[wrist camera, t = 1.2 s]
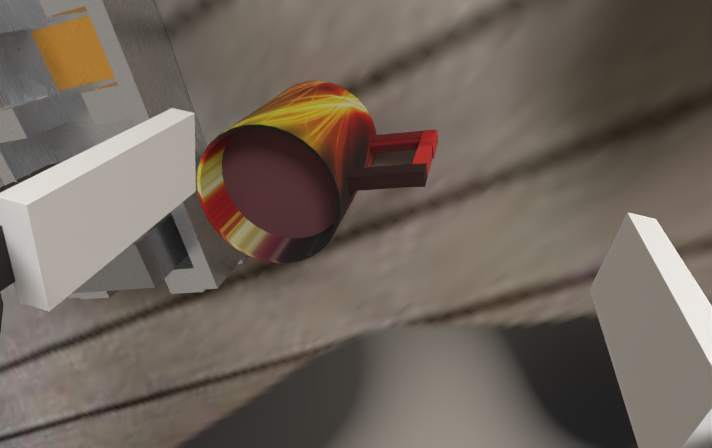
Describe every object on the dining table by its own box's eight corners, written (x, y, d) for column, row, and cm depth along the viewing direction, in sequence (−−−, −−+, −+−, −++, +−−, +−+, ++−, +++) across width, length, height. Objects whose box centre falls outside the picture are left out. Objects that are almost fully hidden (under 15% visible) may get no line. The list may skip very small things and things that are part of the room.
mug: (443, 134, 39) (429, 197, 29) (310, 209, 45) (258, 283, 35) (377, 24, 37) (335, 50, 26) (244, 119, 43) (168, 171, 32)
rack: (-23, 6, 43) (-149, 18, 35) (138, -44, 38) (38, -44, 30) (109, 269, 54) (38, 328, 46) (247, 258, 49) (197, 321, 41)
